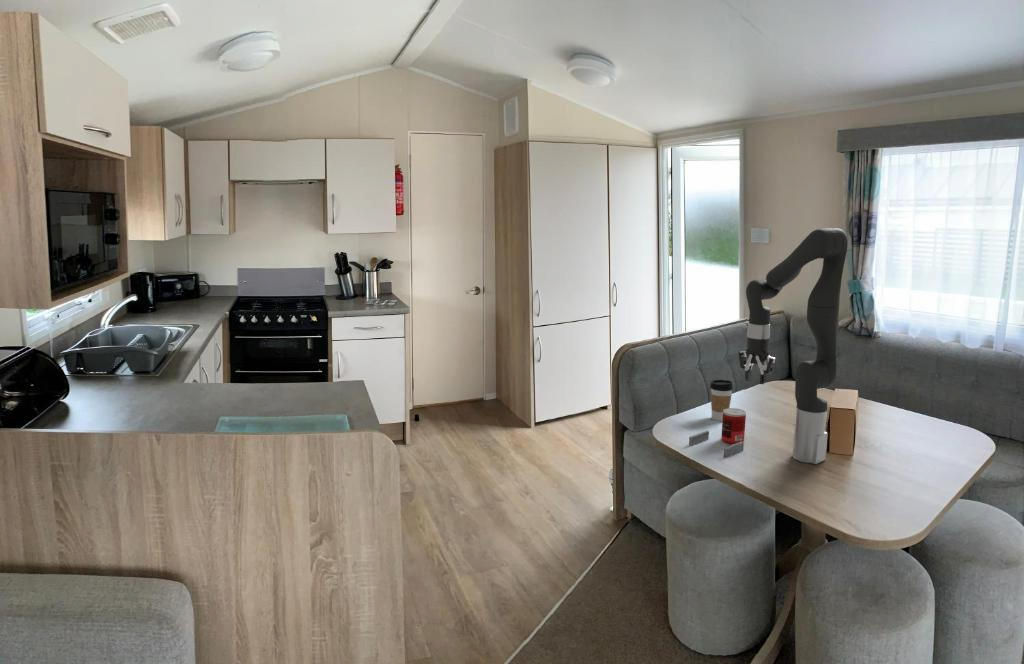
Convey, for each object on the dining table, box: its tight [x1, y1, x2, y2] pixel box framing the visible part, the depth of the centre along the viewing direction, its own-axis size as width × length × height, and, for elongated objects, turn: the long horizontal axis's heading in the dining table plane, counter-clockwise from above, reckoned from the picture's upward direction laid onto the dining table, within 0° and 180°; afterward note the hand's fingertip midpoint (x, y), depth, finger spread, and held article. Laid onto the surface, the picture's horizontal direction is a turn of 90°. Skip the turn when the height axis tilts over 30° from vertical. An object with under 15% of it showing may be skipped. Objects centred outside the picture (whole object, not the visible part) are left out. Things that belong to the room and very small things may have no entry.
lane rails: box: [688, 430, 745, 459], centre depth 242 cm, size 15×10×3 cm, turn 40°
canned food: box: [720, 407, 747, 445], centre depth 247 cm, size 8×8×11 cm
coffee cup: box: [709, 379, 734, 422], centre depth 270 cm, size 8×8×15 cm
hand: (755, 382), depth 252 cm, fingers open, 5 cm apart
